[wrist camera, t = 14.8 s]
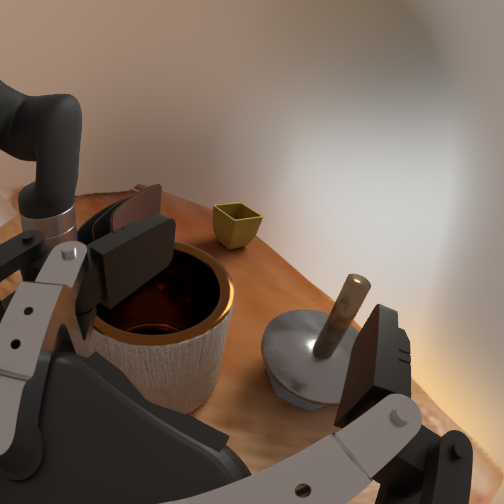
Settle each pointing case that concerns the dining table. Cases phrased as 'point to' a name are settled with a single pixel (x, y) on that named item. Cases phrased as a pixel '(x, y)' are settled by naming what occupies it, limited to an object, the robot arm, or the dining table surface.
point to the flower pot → (235, 224)
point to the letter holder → (121, 214)
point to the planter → (171, 330)
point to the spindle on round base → (315, 346)
